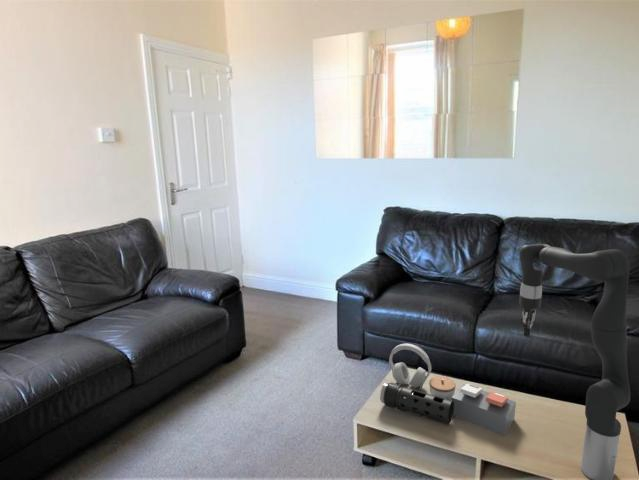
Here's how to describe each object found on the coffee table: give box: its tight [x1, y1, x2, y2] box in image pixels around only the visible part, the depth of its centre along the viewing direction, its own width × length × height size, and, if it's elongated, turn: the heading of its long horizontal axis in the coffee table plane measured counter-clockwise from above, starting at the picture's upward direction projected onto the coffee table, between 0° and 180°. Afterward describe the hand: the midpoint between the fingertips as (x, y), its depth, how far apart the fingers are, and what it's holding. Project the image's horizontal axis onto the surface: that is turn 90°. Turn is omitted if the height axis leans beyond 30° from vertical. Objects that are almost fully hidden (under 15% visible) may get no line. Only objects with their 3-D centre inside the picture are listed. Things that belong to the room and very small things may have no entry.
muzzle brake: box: [379, 382, 454, 426], centre depth 177 cm, size 10×28×10 cm, turn 59°
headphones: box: [388, 342, 432, 390], centre depth 195 cm, size 19×8×20 cm, turn 60°
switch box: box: [451, 383, 517, 437], centre depth 173 cm, size 21×12×9 cm, turn 51°
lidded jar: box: [428, 375, 457, 401], centre depth 186 cm, size 11×11×9 cm
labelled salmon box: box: [486, 391, 509, 407], centre depth 169 cm, size 6×8×2 cm
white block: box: [460, 383, 483, 398], centre depth 175 cm, size 6×8×2 cm
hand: (526, 335), depth 172 cm, fingers closed
